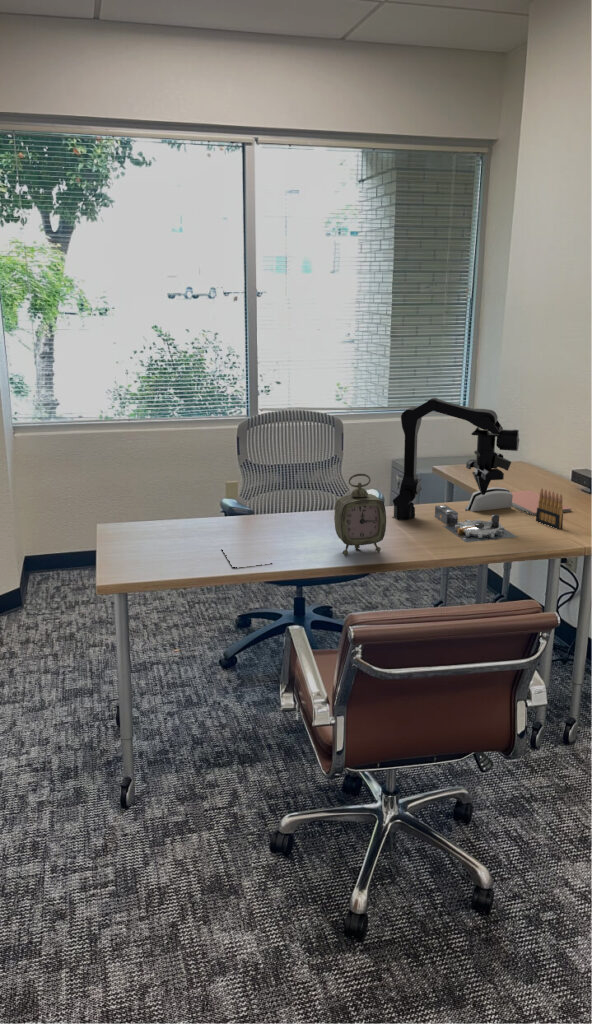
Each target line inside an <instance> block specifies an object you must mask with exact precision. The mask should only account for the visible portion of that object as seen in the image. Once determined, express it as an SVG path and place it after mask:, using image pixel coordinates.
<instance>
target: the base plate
mask: <svg viewBox="0 0 592 1024" xmlns="http://www.w3.org/2000/svg"><path fill="white" fill-rule="evenodd" d="M455 525H457V524H448V525H446V524H445V525H442V527H443V528H445V529H446V530H447V531H449V532H451V533H452V534H453V535H455V536H456V537H458V538H459V539H461V540H462V541H464V543H473V542H475V543H476V542H483V541H492V540H501V539H502V540H503V539H510V538H518V536H517V535H516V534H514V533H512V532H510V531H509V530H507V529H505V528H504V532H502V535H501V536H500V535H494V538H490V537H482V538H478V537H476V536H470V537H467V536H466V534H458V533H457V530H455Z"/></svg>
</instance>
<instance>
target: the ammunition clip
mask: <svg viewBox="0 0 592 1024" xmlns="http://www.w3.org/2000/svg"><path fill="white" fill-rule="evenodd" d="M539 495H540V497H539V503H538V507H537V515H535V516H536V517H535V522H536V521H538V522H537V523H539V522H541V523H540V524H542V523H543V524H542V525H544V524H546V525H545V526H547V525H549V526H548V527H550V526H552V527H551V528H553V527H554V528H553V529H555V528H557V529H556V530H562V529H563V527H564V526H563V520H564V514H563V512H562V510H563V506H562V504H563V495H562V493H561V494H559V493H558V492H556V493H555V491H552V492H551V490H549V491H547V489H545V490H544V489H543V488H541V489H540V491H539Z"/></svg>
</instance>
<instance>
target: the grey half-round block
mask: <svg viewBox="0 0 592 1024" xmlns="http://www.w3.org/2000/svg"><path fill="white" fill-rule="evenodd" d="M511 492H512V491H510V490H509V489H507V488H505V487H495V486H493V487H488V488H487V491H486V493H485V495H482V494H481V493H480V490H479V489H478V490H477V491H474V492H473V493H472V494H471V496H470V499H469V501H468V504H467V505H466V506H465V508H464V511H465V512H466V511H469V512H479V511H488V510H496V509H497V510H498V509H505V508H509V509H511V508H512V498H513V495H512V493H511Z"/></svg>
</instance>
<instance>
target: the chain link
mask: <svg viewBox="0 0 592 1024" xmlns="http://www.w3.org/2000/svg"><path fill="white" fill-rule="evenodd" d="M434 508H435V509H434V517H435V518H437V519H438V520H439V521H441V522H442V523H443V524H445V526H446V525H456V524H457V522H459V521H458V520H459V517H458V516H459V512H457V511H456V510H454V509H453V508H451V507H449V506H448V505H446V504H442V505H435V506H434Z"/></svg>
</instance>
